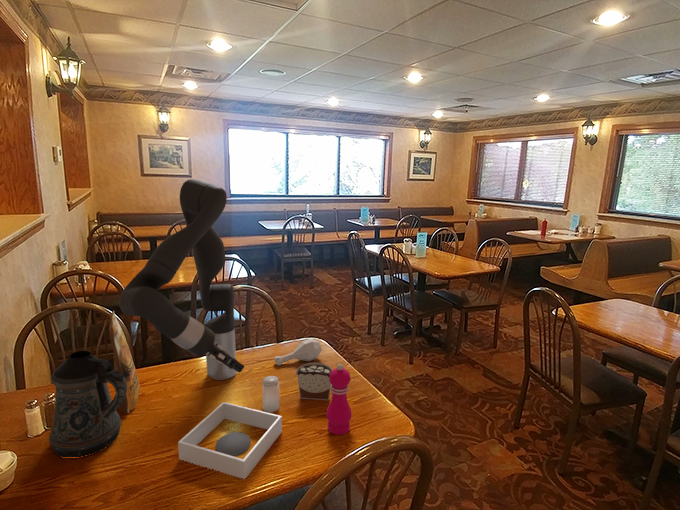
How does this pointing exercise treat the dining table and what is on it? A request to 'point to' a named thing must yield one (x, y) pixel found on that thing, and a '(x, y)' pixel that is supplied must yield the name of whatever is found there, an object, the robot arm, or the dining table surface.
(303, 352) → the chicken leg
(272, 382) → the sugar shaker
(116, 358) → the pancake mix bag
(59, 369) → the beer stein
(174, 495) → the dining table surface
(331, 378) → the pepper mill
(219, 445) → the coaster
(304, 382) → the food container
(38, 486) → the dining table surface
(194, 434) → the grey square frame
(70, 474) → the dining table surface
